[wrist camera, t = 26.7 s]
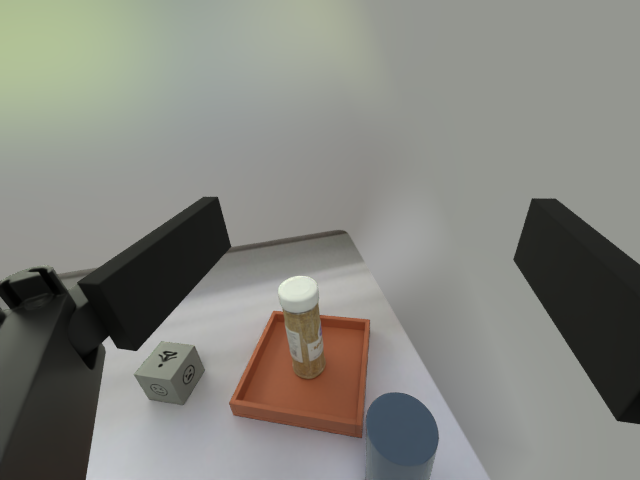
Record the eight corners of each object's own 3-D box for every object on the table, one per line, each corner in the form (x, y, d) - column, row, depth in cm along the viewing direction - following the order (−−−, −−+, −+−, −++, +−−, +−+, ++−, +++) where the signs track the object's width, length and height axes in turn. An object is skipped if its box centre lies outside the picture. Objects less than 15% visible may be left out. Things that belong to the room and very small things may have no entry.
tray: (369, 330, 44) (369, 319, 43) (361, 438, 31) (361, 426, 30) (275, 321, 47) (273, 310, 46) (233, 415, 34) (228, 403, 33)
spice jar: (329, 375, 37) (321, 295, 31) (294, 384, 37) (279, 303, 30) (321, 347, 41) (313, 271, 35) (290, 355, 41) (275, 278, 34)
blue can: (422, 456, 29) (433, 397, 24) (428, 528, 25) (444, 473, 20) (367, 446, 31) (368, 387, 26) (363, 513, 26) (363, 458, 21)
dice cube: (204, 370, 40) (194, 345, 38) (183, 405, 36) (170, 380, 34) (173, 365, 41) (161, 341, 39) (149, 399, 37) (133, 374, 35)
